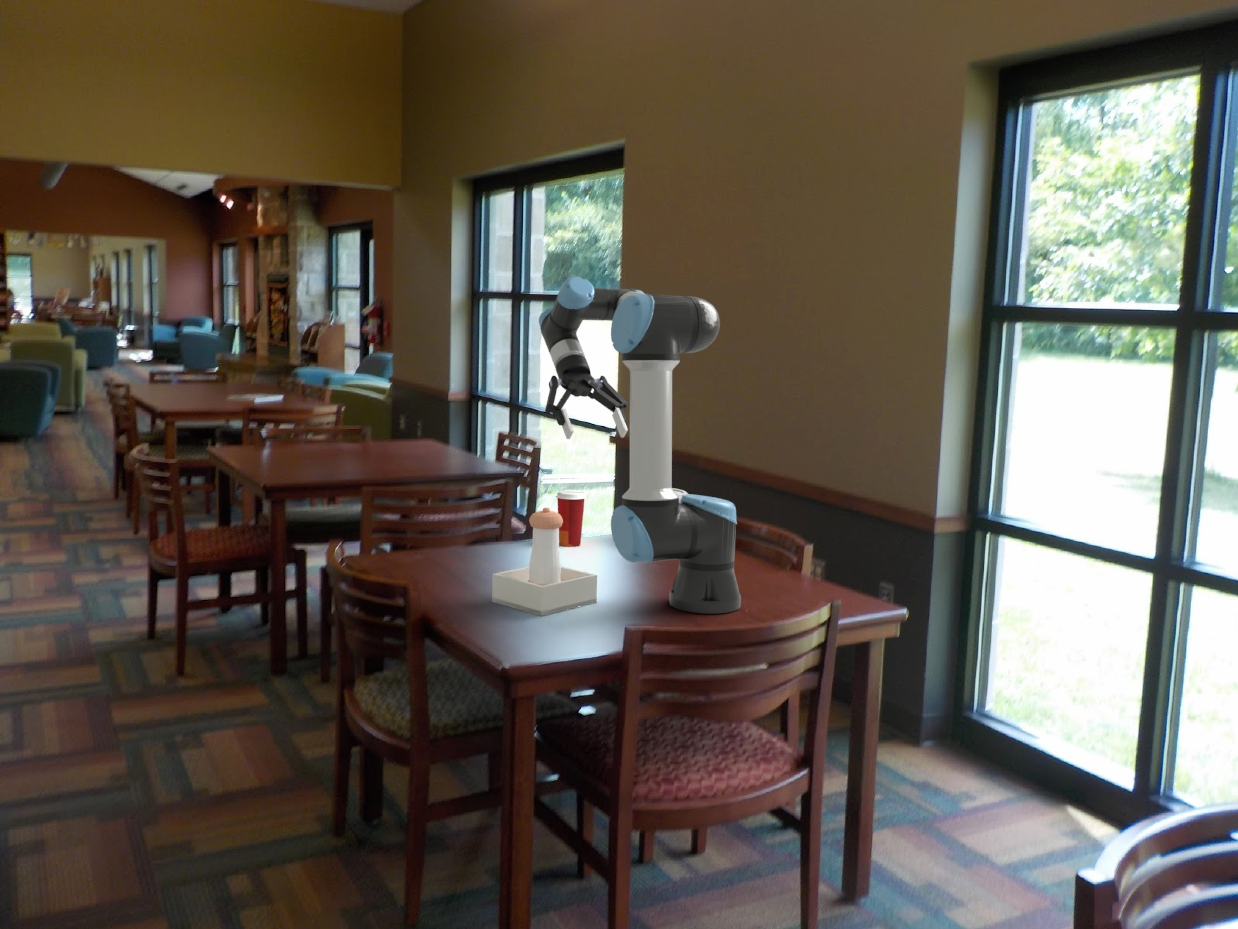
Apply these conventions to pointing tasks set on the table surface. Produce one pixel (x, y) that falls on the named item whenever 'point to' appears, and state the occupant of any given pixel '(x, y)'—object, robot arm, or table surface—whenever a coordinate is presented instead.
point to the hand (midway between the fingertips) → (597, 434)
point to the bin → (544, 591)
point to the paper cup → (570, 517)
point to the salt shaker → (545, 548)
